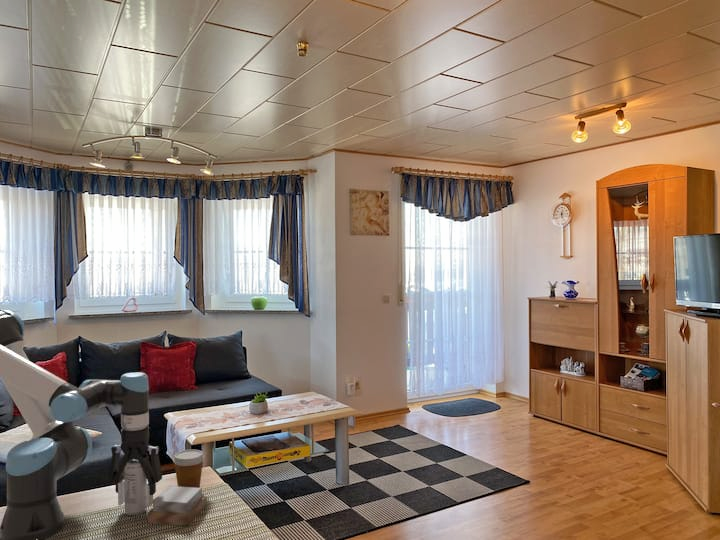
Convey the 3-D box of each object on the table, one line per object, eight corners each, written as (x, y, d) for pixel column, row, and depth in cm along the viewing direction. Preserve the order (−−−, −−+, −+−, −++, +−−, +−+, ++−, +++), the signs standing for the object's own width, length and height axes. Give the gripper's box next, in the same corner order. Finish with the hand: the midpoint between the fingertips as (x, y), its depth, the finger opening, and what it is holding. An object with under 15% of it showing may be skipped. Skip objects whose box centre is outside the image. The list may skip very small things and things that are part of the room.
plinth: (147, 523, 155) (147, 501, 155) (168, 504, 167) (168, 484, 167) (188, 526, 154) (188, 504, 154) (206, 506, 166) (206, 486, 165)
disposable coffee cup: (181, 501, 169) (181, 462, 169) (168, 491, 176) (167, 453, 176) (210, 492, 176) (209, 454, 175) (196, 483, 183) (196, 446, 182)
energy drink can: (150, 511, 162) (150, 460, 162) (130, 518, 158) (130, 466, 158) (140, 505, 166) (140, 455, 166) (120, 512, 162) (120, 461, 161)
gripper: (94, 429, 159) (94, 507, 160) (162, 432, 156) (163, 512, 157) (109, 421, 167) (110, 496, 167) (174, 424, 164) (175, 500, 164)
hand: (135, 504), depth 162 cm, fingers open, 8 cm apart
